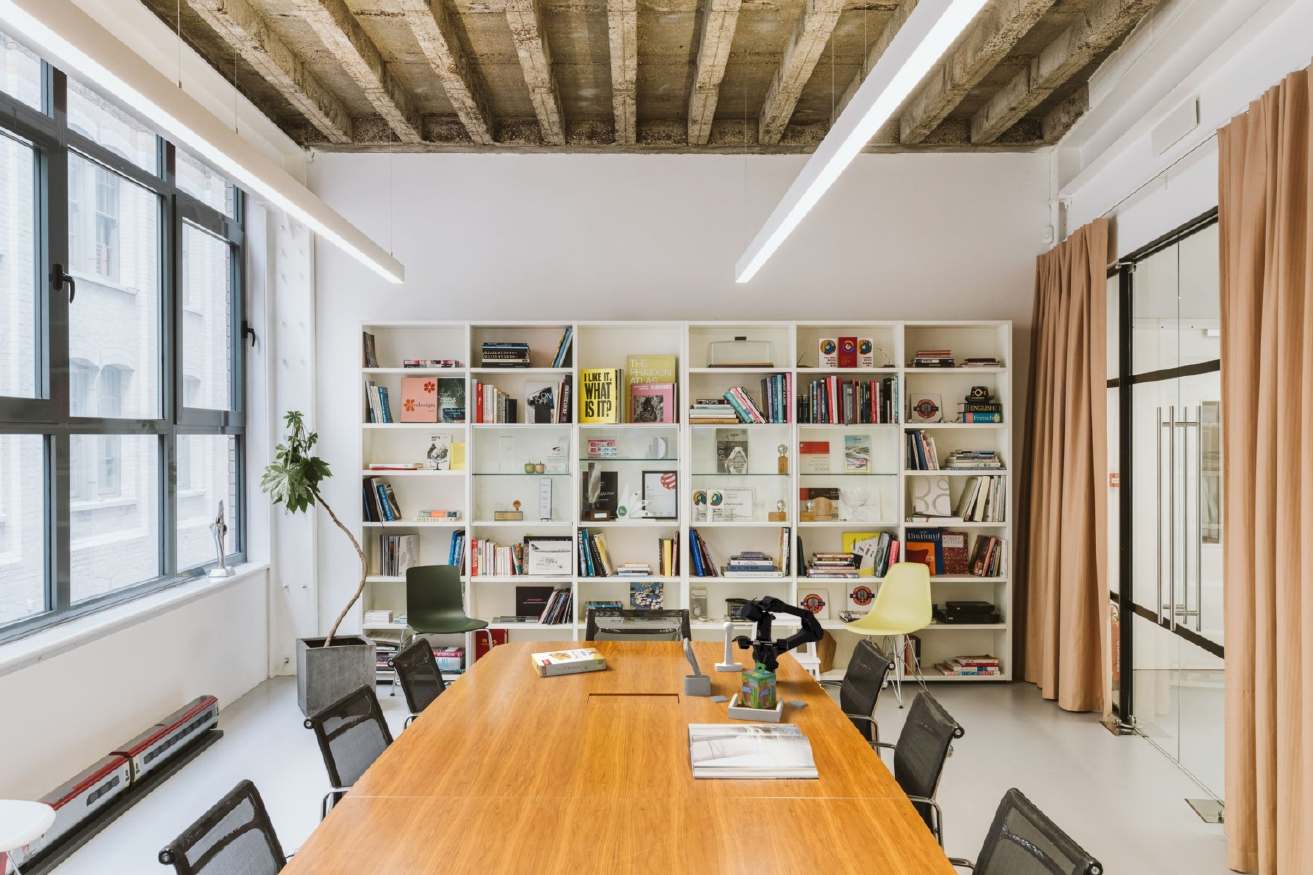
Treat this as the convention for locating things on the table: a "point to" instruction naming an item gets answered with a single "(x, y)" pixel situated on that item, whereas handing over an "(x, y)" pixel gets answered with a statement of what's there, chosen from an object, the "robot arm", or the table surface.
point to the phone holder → (696, 682)
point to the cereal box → (568, 661)
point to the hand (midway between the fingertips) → (761, 665)
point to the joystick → (728, 652)
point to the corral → (754, 712)
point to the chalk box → (758, 688)
